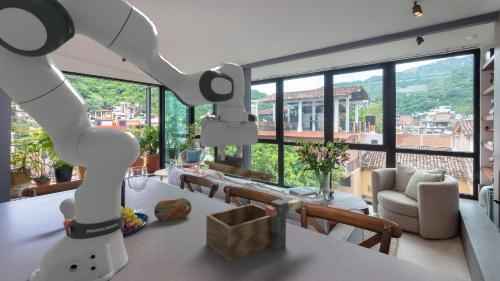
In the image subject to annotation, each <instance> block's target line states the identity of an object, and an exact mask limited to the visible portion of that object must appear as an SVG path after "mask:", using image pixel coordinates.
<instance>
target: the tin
mask: <svg viewBox="0 0 500 281" xmlns="http://www.w3.org/2000/svg"><path fill="white" fill-rule="evenodd" d="M191 212H192V204H191V202H190V201H189V200H188V199H187V198H184V197H180V198H179V197H178V198H172V199H163V200H160V201H159V202H157V203H156V205H155V207H154V212H153V215H154V216H155V218H156V219H157V220H159V221H161V222H167V221H174V220H181V219H185V218H187V217H188V216H189V215H190V214H191Z"/></svg>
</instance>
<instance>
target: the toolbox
mask: <svg viewBox="0 0 500 281" xmlns="http://www.w3.org/2000/svg"><path fill="white" fill-rule="evenodd" d="M270 204H271V205H270V206H272V205H274V206H277V207H278V215H275V216H273V217H271V216H268V215H266V214H265V207H262V206H260V205H257V204H254V203H249V204H246V205H242V206H237V207H233V208H230V209H225V210H221V211H216V212H212V213H209V214H206V216H205V218H206V220H205V222H206V223H205V225H206V227H205V231H206V232H205V233H206V236H205V237H206V238H205V240H206V242H205V244H206V245H207V246H209V248H211V249H213V250H214V251H215V252H216V253H217V254H218V255H220V256H222V258H224V259H226V261H228V262H229V263H230V262H233V261H235V260H238V259H240V258H243V257H245V256H248V255H250V254H253V253H255V252H258V251H261V250H263V249H265V248H267V247H271V248H272V249H274V250H276V251H278V250H281V249H283V248H285V247H286V242H287V238H286V237H287V235H286V234H287V215H289V214H290V211H289V202H287V201H286V200H283V199H276V200H272V201H270Z"/></svg>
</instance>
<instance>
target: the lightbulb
mask: <svg viewBox="0 0 500 281" xmlns="http://www.w3.org/2000/svg"><path fill="white" fill-rule="evenodd" d="M58 208H59V211H60V212H61V214H62V215H63V217H64V221H65V220H66V219H71V220H74V219H75V201H74V198H72V197H71V198H65V199H64V200H62V201H61V203H60V205H59V207H58Z"/></svg>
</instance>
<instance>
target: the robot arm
mask: <svg viewBox="0 0 500 281" xmlns="http://www.w3.org/2000/svg"><path fill="white" fill-rule="evenodd" d="M75 35H82V36H85V37H87V38H89V39H91V40H93V41H95V42H96V43H98V44H99V45H101V46H102V47H104V48H106V49H108V50H109V51H111V52H112V53H114V54H116V55H118V56H119V57H121V58H123V59H124V60H125V61H127V62H129V63H131V64H133V65H134V66H135V67H137V68H138V69H139V70H141V71H142V72H144V73H145V74H146V75H147V76H150V77H151V78H152V79H153V80H155V81H156V82H158V83H159V84H161V85H163V87H165V88H166V89H168V90H169V91H170V92H171V93H172V94H173V96H174V97H175V98H176V99H177V101H179V103H181V105H183V106H185V107H187V108H193V107H194V108H195V107H197V106H206V105H213V104H216V115H205V116H204V117H202V119H201V121H200V127H201V130H200V135H199V136H200V138H199V139H200V140H199V143H200V145H201V146H202V147H205V148H210V147H211V148H212V147H217V151H218V153H219V154H221V160H223V161H225V160H228V156H229V155H228V154H226V153H225V150H226V147H231V146H233V147H234V146H235V149H236V150H235V153H233V154H232V156H233V157H238V158H241V153H242V152H243V149H244V146H252V145H254V146H255V145H257V143H258V141H259V127H258V124H257V122H258V116H257V115H255V114H253V113H251V112H249V111H246V110H245V109H246V105H245V101H244V99H245V94H246V83H245V82H246V81H245V73H244V69H243V67H241V65H239V64H238V63H235V62H230V61H229V62H228V61H227V62H226V61H225V62H222V63H219V65H218V66H215V67H212V68H211V69H206V70H201V71H198V72H194V73H185V72H182V71H180V69H179V70H178V68H176V67H175V66H174V65H172V64H171V63H170V62H169V61H168V60H166V59H165V58H164V57H163V56H161V54H160V53H159V50H158V48H159V43H160V42H159V41H160V40H159V33H158V29H157V27H156V25H155V24H154V23H153V22H152V21H151V20H150V19H149V18H148V17H147V15H145V14H144V13H143V12H141V11H140V10H139V9H137V8H136V7H135V6H134V5H132V4H131V3H129V2H128V1H127V0H0V88H1V89H2V90H3V91H4V92H5V93H6V94H7V96H9V98H11V100H12V101H14V102H15V103H16V104H17V105H18V106H19V107H20V108H21V109H22V110H23V111H24V112H25V113H26V114H27V115H28V116H29V117H30V118H31V119H32V120H33V121H35V123H37V125H39V126H40V127H41V128H42V130H43V131H44V132H45V133H46V134H47V137H49V139H50V141H51V142H52V144H53V151H54V154H55V155H56V157H57V158H58V159H60V160H61V161H63V162H65V163H67V164H69V165H72V166H75V167H85V168H86V171H85V176H84V179H83V181H82V183H81V184H80V185H79V186H78V187H77V188H76V189H75V191H74V195H73V199H74V201H75V219H74V220H71V219H66V220H65V219H64V221H63V223H62V224H63V227H64V228H65V233H66V234H65V235H64V236H63V237H62V238H61V239H60V240H58V241H57V242H56V243H54V244H53V245H52V246H51V247H50V248H48V249H47V250H46V251H45V253H44V255H43V256H42V259H41V262H40V265H39V268H37V269H36V270H34V271H33V273H32V274H31V275H30V277H29V279H28V281H109V280H111V279H112V278H113V276H114V275H115V274H116V273H117V272H118V271H120V270H121V269H122V268H123V267H125V266H126V265H127V263H128V262H129V255H128V253H127V251H126V247H125V243H124V242H125V241H124V236H123V232H124V225H125V224H124V214H123V212H122V186H123V181H124V178H125V176H126V174H127V171H128V169H129V168H130V167H131V166H132V165H134V164H135V163H136V162H137V160H138V158H139V156H140V153H141V152H140V151H141V146H140V141H139V139H138V137H137V136H136V135H135V134H134V133H132V132H130V131H127V130H123V129H119V128H116V127H98V126H96V125H94V124H93V123H92V121H91V120H90V119H89V116H88V114H87V112H88V109H89V106H88V103H87V101H86V99H85V98H84V97H83V95H82V94H81V93H80V92H79V91H78V89H77V88H76V87H75V86H74V85H73V84H72V83H71V81H70V80H69V78H67V76H66V75H65V74H64V72H62V71H61V69H60V68H59V67H58V66H57V64H56V63H55V62H54V60H53V58H52V55H51V53H54V52H55V51H57V50H58V49H60V48H61V47H62V46H63V45H65V44H66V43H68V42H69V41H70V40H72V39H73V38H74V37H75Z"/></svg>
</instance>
